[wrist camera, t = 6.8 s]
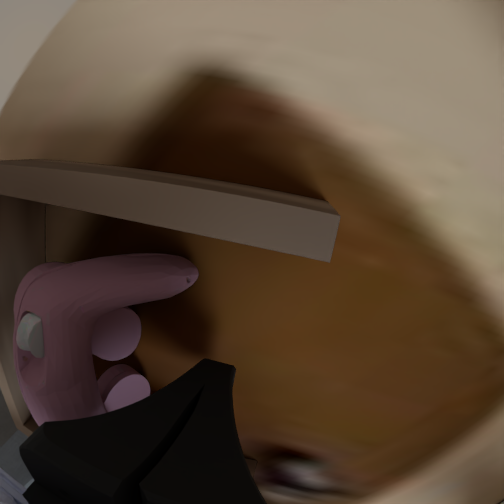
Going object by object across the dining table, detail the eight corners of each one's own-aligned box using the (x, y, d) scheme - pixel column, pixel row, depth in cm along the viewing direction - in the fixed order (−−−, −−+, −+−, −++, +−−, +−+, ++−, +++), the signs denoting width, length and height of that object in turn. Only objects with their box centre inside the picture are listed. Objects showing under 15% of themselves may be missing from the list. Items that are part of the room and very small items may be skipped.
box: (253, 470, 14) (238, 529, 10) (53, 393, 15) (16, 428, 11) (327, 201, 10) (340, 216, 6) (36, 159, 12) (-30, 162, 8)
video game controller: (137, 233, 13) (-17, 263, 8) (211, 252, 11) (0, 307, 5) (155, 407, 16) (52, 459, 10) (215, 449, 13) (102, 524, 7)
